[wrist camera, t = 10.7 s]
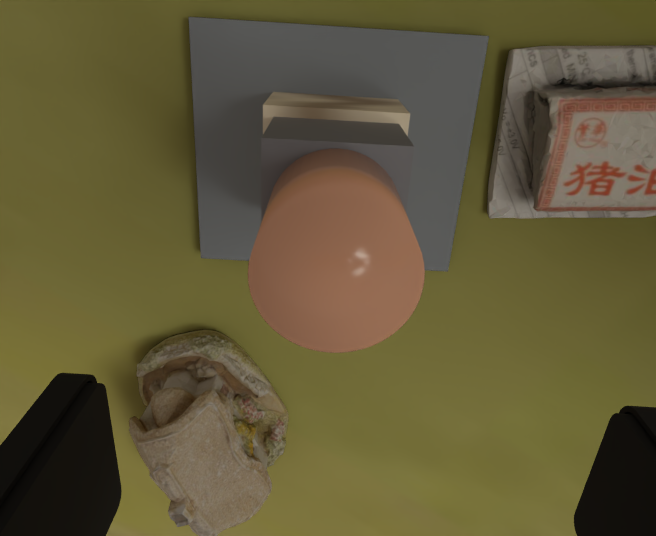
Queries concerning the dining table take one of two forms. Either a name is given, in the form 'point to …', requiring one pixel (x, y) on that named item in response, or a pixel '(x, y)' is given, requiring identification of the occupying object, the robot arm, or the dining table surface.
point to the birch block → (335, 108)
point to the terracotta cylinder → (335, 254)
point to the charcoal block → (317, 134)
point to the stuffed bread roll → (208, 429)
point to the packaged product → (576, 134)
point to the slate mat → (328, 79)
